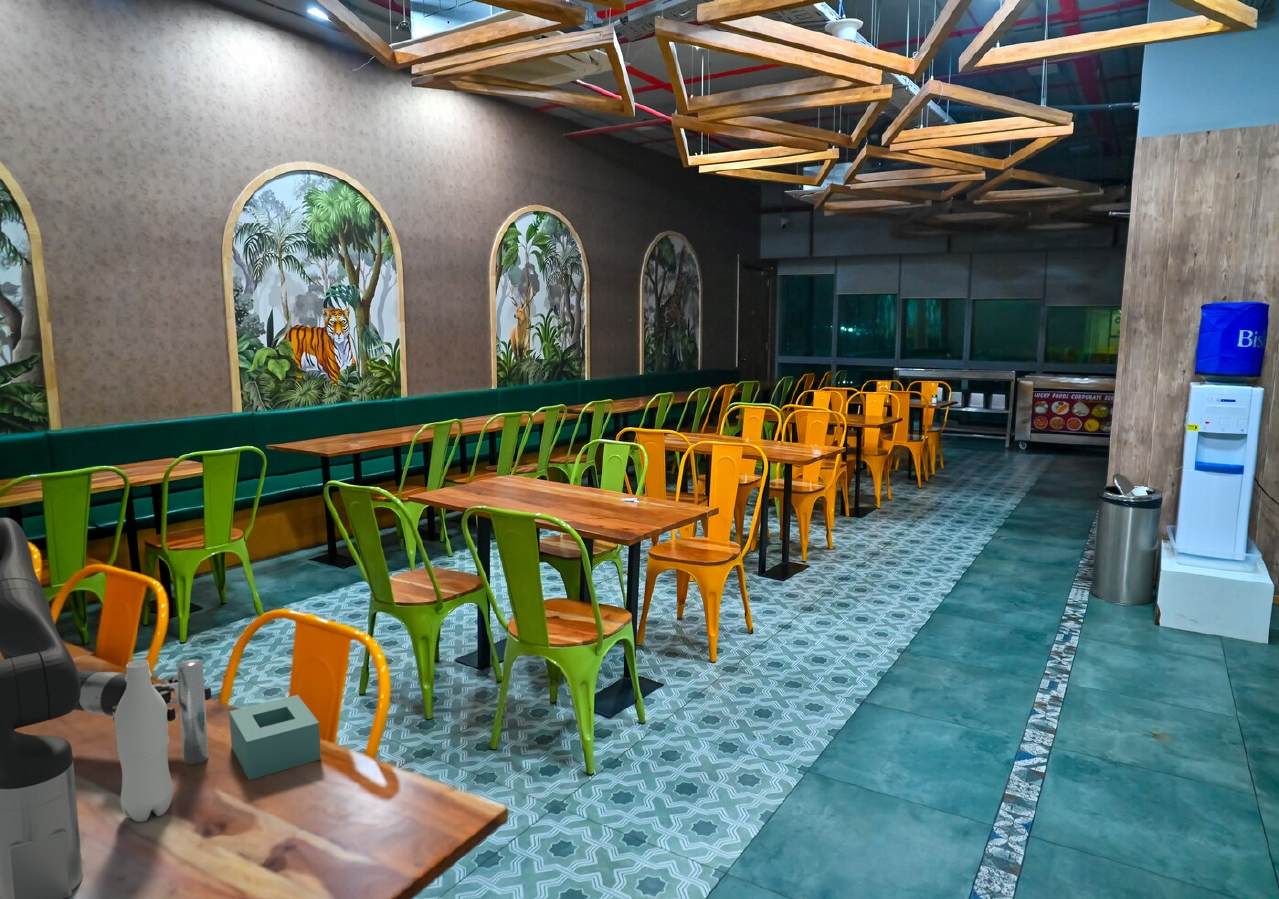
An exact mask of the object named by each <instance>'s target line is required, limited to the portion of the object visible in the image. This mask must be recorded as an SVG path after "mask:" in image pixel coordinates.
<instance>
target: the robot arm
mask: <svg viewBox="0 0 1279 899" xmlns="http://www.w3.org/2000/svg"><path fill="white" fill-rule="evenodd" d="M61 637H62V636H60V634H59V631H58V630H57V627H56V625H55V620H54V618H53V614H52V611H51V607H50V604H49V601H48V598H47V596H46V593H45V590H44V589H43V586H42V585H41V582H40V580H39V578H38V576H37V574H36V571H35V568H34V563H33V559H32V555H31V549H30V546H29V542H28V538H27V535H26V534H25V531H24V530H23V529H22V527H21V525H19V523H18V522H17V521H15V520H14V519H12V518H9V517H0V654H1V657H2V658H3V659H0V899H66V898H69V897H71V896H73V891H74V890H75V888H76V887H78V885H79V884H80V883H81V882H82V880H83V877H84V870H83V858H82V847H81V836H80V827H79V815H78V806H77V802H78V801H77V794H76V792H77V791H76V783H75V782H76V781H75V780H76V779H75V770H74V757H73V748H72V745H71V743H70V742H69V741H68V740H67V739H65V738H63V737H61V736H56V735H42V734H39V735H36V734H27V733H22V732H19V731H16V730H18V729H20V728H24V727H28V726H32V725H36V724H39V723H44V722H46V721H51V720H55V719H58V718H61V717H64V716H66V715H69V714H70V713H71V712H73V711H82V712H88V713H92V714H96V715H100V716H107V717H113V718H112V720H113V721H114V716H115V712H116V709H117V706H118V704H119V702H120V700H121V698H122V696H123V694H124V692H125V690H126V686H127V682H126V681H125V678H126V674H127V673H125V672H124V673H123V672H118V671H117V672H115V671H103V672H102V671H97V670H96V671H94V670H85V669H79V670H78V669H77V666H76V663H75V661H74V659H73V658H72V655H71V653H70V651H69V649H68V648H67V646H66V644H65V642H64V641H63V639H62V638H61ZM151 683H152V685H153V686H154V688H155V689H156V690H157V691H158V692H159V694H160V695H161V696H162V698H163V699H164V701H165V703H166V705H169V704H171V705H172V704H177V703H179V689H178V676H170V677H168V682H167V683H153V682H152V681H151ZM204 691H205V701H209V700H210V699H212V689H211V687H208V686H204ZM172 693H173V694H174V695H175V696H174V697H172ZM167 710H168V711H167V722H172V721H175V720H176V709H175V708H174V707H171V706H170V707H169V706H167Z"/></svg>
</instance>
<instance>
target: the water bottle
mask: <svg viewBox="0 0 1279 899" xmlns="http://www.w3.org/2000/svg"><path fill="white" fill-rule="evenodd" d="M149 664H150V663H149V661H148V660H147V659H139V660H132V661H129V662H128V663H127V664H126V665H125V671H126V673H125V674H126V678H125V681H126V682H127V686H126V690H125V692H124V694H123V696H122V698H121V700H120V702H119V704H118V706H117V709H116V712H115V716H114V720H113V722H114V724H115V734H116V735H115V736H116V744H117V745H116V746H117V747H116V748H117V755H118V758H119V762H120V768H121V774H122V775H121V776H122V779H121V792H120V805H121V809H122V812H123V813H124V815H125V816H126V817H127V818H129V819H132V821H135V822H137V823H139V822H140V823H142V822H146V821H147V820H148V819H149V817H150V815H151V813H152V812H153V813H154V814H155V815H156V816H157V817H160V816H162V815H164V814H165V813H166V812H168V809H169V808H170V805H171V802H172V800H173V795H174V793H173V792H174V784H173V780H172V777H171V772H170V770H169V758H168V757H169V755H168V754H169V742H170V737H169V726H168V725H169V724H168V721H167V711H168V710H167V707H168V704H166V703H165V701H164V699H163V698H162V696H161V695H160V694H159V692H158V691H157V690H156V689H155V688H154V686H153V685H152V683H153V682H152V680H151V678H152V677H153V676H152V673H151V670H150V665H149ZM151 682H152V683H151Z"/></svg>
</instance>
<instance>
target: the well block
mask: <svg viewBox="0 0 1279 899" xmlns="http://www.w3.org/2000/svg"><path fill="white" fill-rule="evenodd" d="M229 724H230V725H229V728H230V745H231V746H230V747H231V748H232V751H233V753H234V754H235V756H236V759H237V760H238V762H239V764H240V766H241V768H242V770H243V772H244V773H245V775H246V778H247V780H248V781H251V780H255V779H257V778H261V777H264V776H267V775H271V774H272V775H273V774H274V773H279V772H281V771H284V770H288V769H292V768H297V767H299V766H303V765H306V764H310V763H312V762H316V761H319V760H321V759H322V757H321V756H322V754H321V738H320V737H321V735H320V721H318V719H317V718H316V716H315V715H314V714H313V712H311V710H310V709H309V708H308V706H307V704H305V703H304V701H303V700H302V698H301V697H300V696H299V694H296V695H291V696H288V697H283V698H279V699H275V700H270V701H266V702H262V703H258V704H253V705H250V706H246V707H242V708H237V709H233V710H230V711H229Z"/></svg>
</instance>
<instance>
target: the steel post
mask: <svg viewBox="0 0 1279 899" xmlns="http://www.w3.org/2000/svg"><path fill="white" fill-rule="evenodd" d="M176 673H177V674H176V675H177V677H178V689H179V702H178V703H179V712H180V714H179V715H180V730H181V741H182V742H181V745H182V758H183V760H182V761H183V764H184V765H188V766H194V765H199V764H202V763H205V761H207V760H208V759H209V757H210V755H209V742H208V740H209V739H208V738H209V737H208V725H207V708H206V700H205V691H204V687H205V679H204V677H205V676H204V675H205V674H204V662H203V660H202V659H198V658H196V659H195V658H193V659H187V660H183V661H180V662H179V663H177V665H176Z"/></svg>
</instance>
